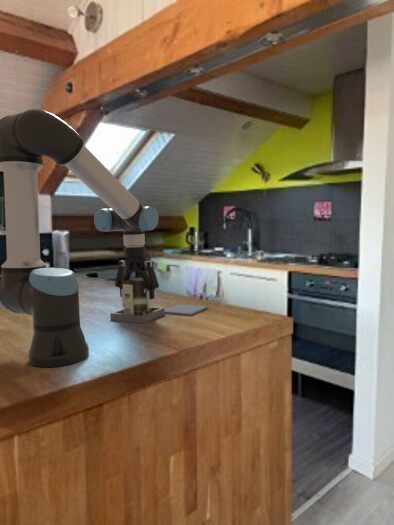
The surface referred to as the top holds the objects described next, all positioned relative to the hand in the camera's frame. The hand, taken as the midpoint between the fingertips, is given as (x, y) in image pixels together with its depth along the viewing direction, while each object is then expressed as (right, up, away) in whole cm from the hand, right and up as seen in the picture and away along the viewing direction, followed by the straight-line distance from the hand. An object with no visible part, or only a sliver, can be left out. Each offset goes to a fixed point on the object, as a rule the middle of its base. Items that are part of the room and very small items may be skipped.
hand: (137, 306), depth 155 cm
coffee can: (0, -4, 0) cm, 4 cm away
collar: (0, -4, 0) cm, 4 cm away
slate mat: (+17, -2, +8) cm, 19 cm away
